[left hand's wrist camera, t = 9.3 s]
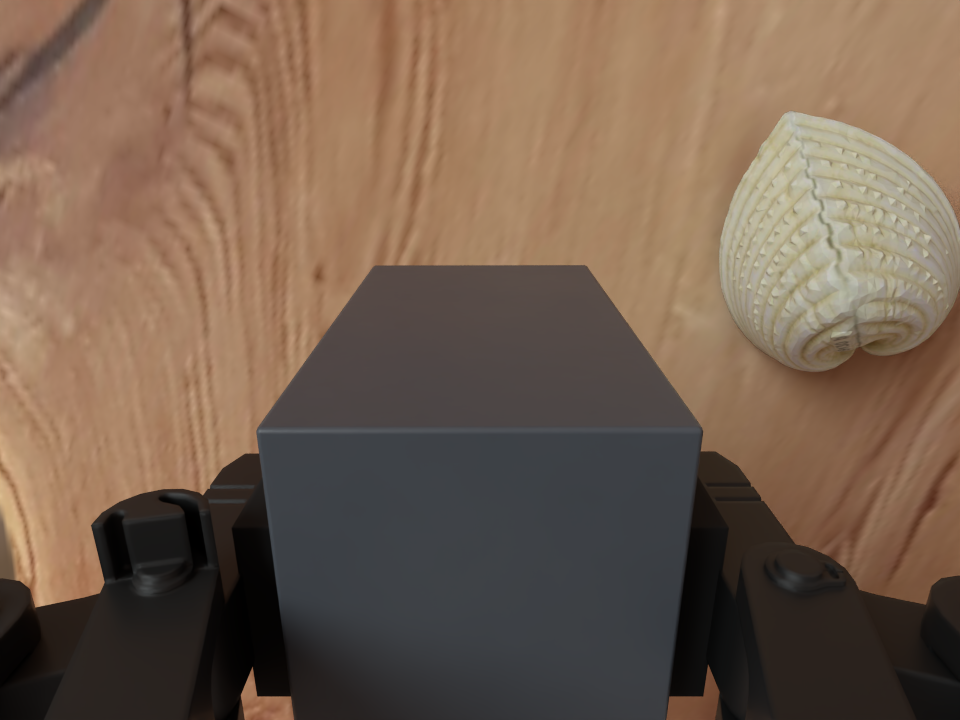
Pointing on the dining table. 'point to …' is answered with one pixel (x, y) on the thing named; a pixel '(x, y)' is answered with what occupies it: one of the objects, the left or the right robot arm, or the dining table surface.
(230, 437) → the dining table surface
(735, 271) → the seashell
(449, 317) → the bar
